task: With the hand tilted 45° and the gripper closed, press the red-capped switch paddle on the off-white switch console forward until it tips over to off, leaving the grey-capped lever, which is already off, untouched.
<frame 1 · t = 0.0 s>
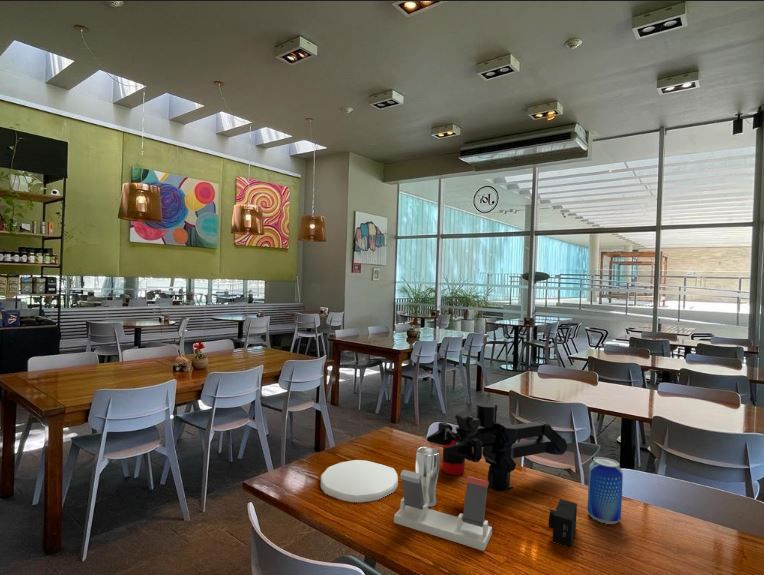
hand: (435, 444, 128), 17 cm above the table, tool horizontal, fingers open, 9 cm apart
beer glass: (425, 502, 126), on the table
grey lever: (412, 490, 115), point 9 cm above the table, hinge at 20.0°
soda can: (453, 471, 149), on the table
digital camera: (562, 535, 112), on the table
switch console: (442, 528, 113), on the table
beer can: (603, 519, 121), on the table
red-capped switch paddle: (475, 501, 110), point 9 cm above the table, hinge at -20.0°
white flat disc: (358, 484, 137), on the table
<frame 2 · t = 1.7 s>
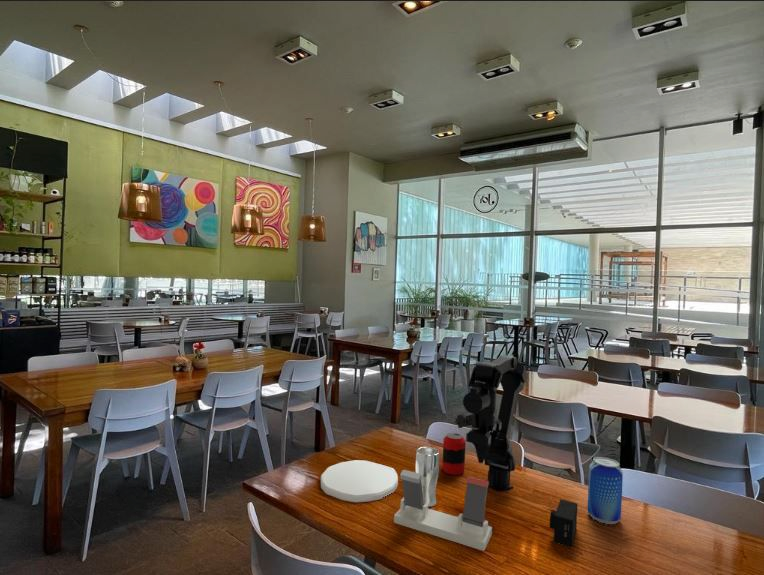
hand: (483, 459, 127), 13 cm above the table, tool pointing down, fingers open, 6 cm apart
nothing on the table moved.
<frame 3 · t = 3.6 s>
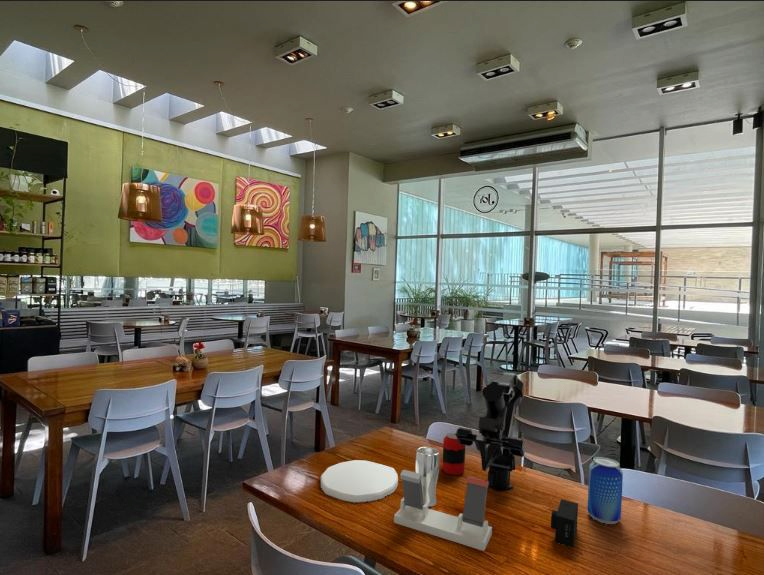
hand: (483, 470, 118), 13 cm above the table, tool tilted 45°, fingers closed
nothing on the table moved.
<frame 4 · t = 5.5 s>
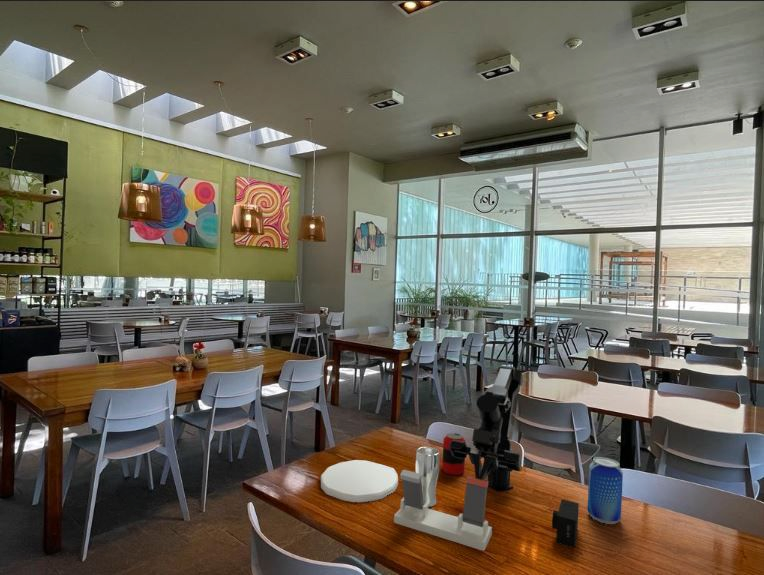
hand: (477, 485, 112), 12 cm above the table, tool tilted 45°, fingers closed, pressing on red-capped switch paddle
red-capped switch paddle: (475, 501, 110), point 9 cm above the table, hinge at -17.2°, touching gripper
everything else where it was.
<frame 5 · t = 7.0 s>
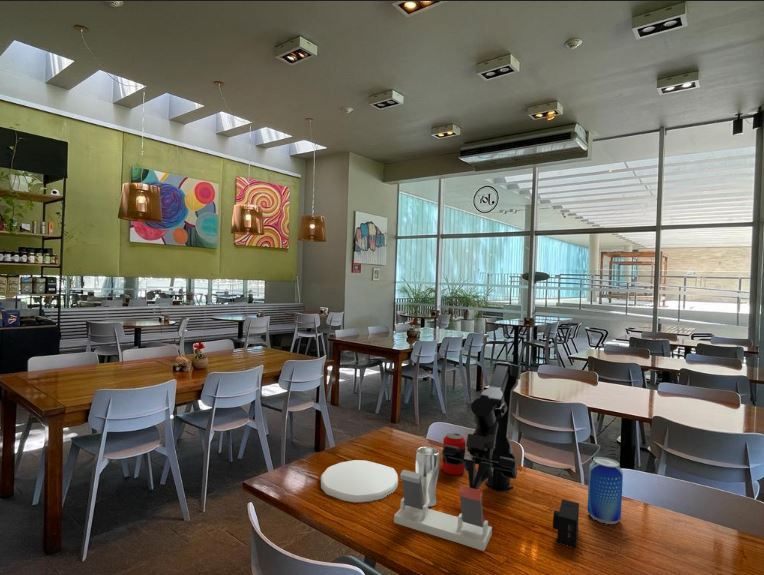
hand: (471, 493, 107), 12 cm above the table, tool tilted 45°, fingers closed, pressing on red-capped switch paddle
red-capped switch paddle: (471, 507, 107), point 8 cm above the table, hinge at 22.8°, touching gripper
everything else where it was.
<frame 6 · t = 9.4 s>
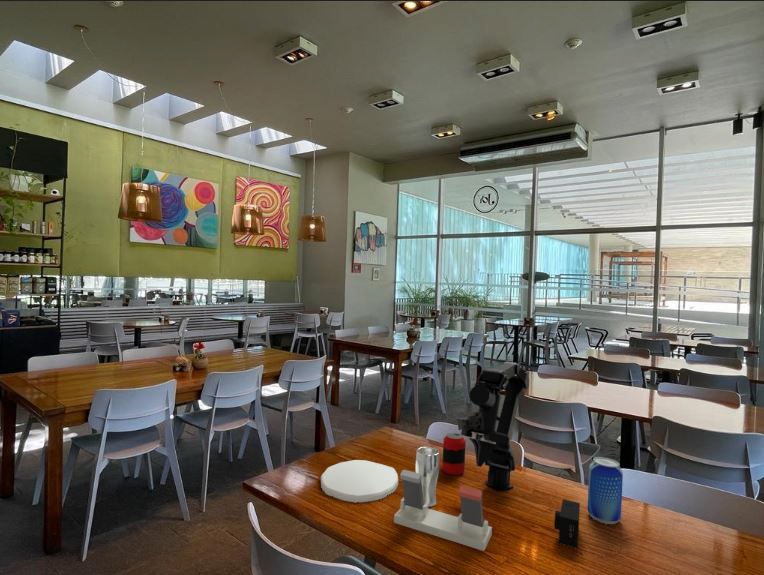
hand: (478, 466, 123), 12 cm above the table, tool tilted 20°, fingers closed
red-capped switch paddle: (471, 507, 107), point 8 cm above the table, hinge at 23.2°
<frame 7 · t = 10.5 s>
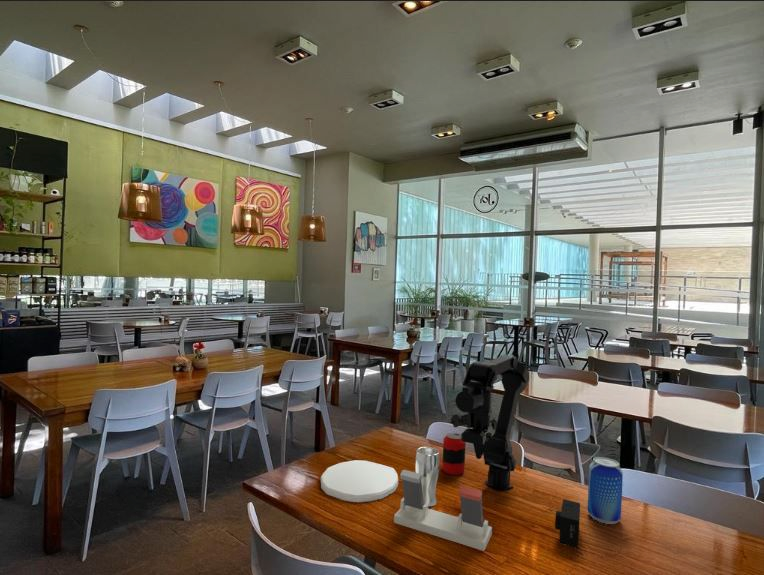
hand: (478, 458, 127), 13 cm above the table, tool pointing down, fingers closed
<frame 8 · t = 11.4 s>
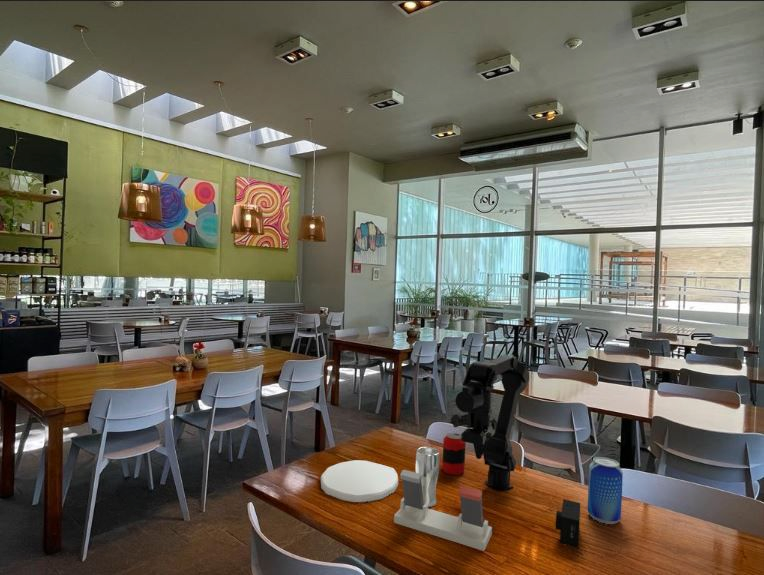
hand: (478, 458, 127), 13 cm above the table, tool pointing down, fingers closed
at the end: red-capped switch paddle at +23° (first picture: -20°); grey lever at +20° (first picture: +20°) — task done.
